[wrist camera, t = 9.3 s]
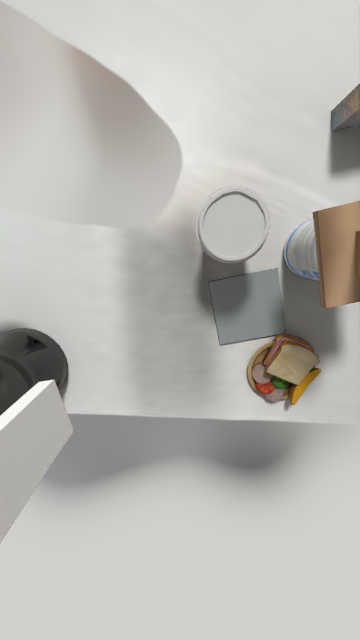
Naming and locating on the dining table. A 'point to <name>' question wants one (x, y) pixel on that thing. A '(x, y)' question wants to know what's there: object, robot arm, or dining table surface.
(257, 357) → the toy sandwich meal
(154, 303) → the dining table surface
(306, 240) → the supplement tub
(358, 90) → the ruin model on sheet
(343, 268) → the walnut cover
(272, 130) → the dining table surface
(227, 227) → the disposable coffee cup
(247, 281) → the grey square tile
